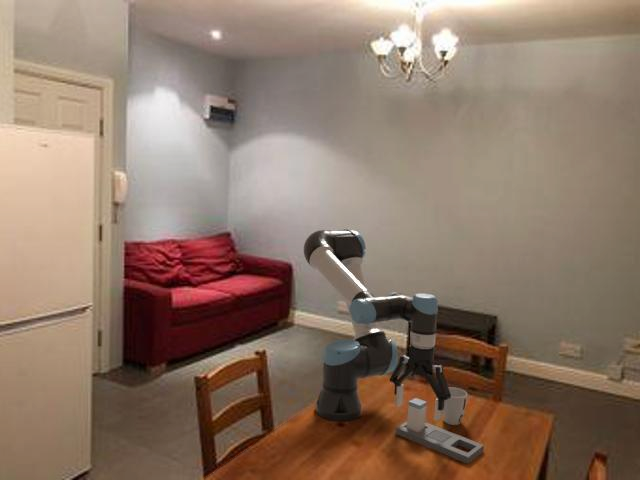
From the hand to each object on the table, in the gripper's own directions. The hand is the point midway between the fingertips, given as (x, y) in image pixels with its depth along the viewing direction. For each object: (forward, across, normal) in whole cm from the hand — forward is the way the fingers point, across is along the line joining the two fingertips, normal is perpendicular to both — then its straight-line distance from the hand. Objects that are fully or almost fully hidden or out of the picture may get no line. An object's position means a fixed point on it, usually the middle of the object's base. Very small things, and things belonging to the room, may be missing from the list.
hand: (417, 412), depth 169 cm
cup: (+7, +4, +16) cm, 18 cm away
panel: (+7, +8, 0) cm, 10 cm away
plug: (+7, 0, 0) cm, 7 cm away
